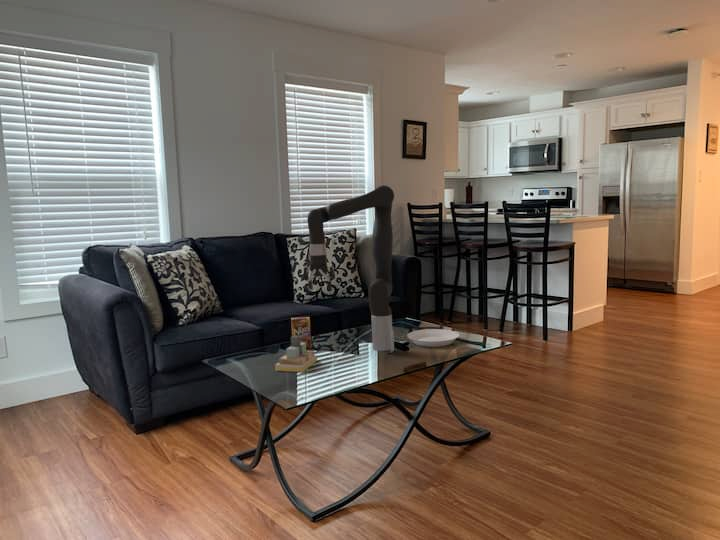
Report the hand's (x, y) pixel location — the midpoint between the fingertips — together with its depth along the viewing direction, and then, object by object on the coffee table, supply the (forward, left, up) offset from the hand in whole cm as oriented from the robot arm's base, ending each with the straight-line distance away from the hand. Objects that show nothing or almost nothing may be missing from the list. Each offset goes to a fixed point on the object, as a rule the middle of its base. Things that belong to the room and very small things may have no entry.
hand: (320, 289), depth 252 cm
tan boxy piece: (+3, +23, -26) cm, 35 cm away
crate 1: (+3, +26, -24) cm, 36 cm away
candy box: (+14, -8, -30) cm, 34 cm away
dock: (+4, +23, -30) cm, 38 cm away
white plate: (-46, -28, -31) cm, 62 cm away
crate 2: (+3, +19, -24) cm, 31 cm away
